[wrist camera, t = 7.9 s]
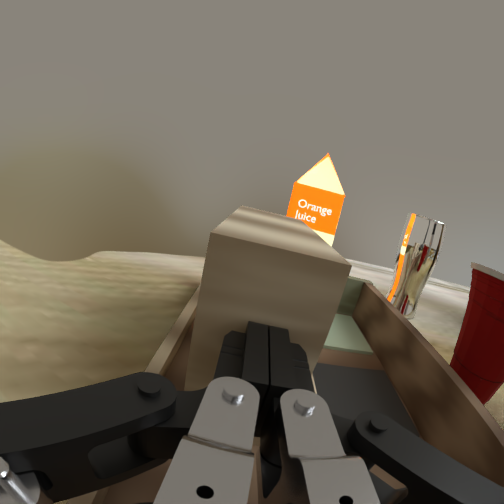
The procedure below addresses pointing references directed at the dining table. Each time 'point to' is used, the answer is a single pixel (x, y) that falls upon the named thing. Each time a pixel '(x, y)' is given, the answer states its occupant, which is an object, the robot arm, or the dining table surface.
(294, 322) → the beech block
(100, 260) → the dining table surface
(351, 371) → the pads
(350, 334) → the pad
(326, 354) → the board
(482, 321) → the plastic cup
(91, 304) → the dining table surface
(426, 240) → the beer glass
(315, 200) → the orange juice
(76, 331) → the dining table surface
